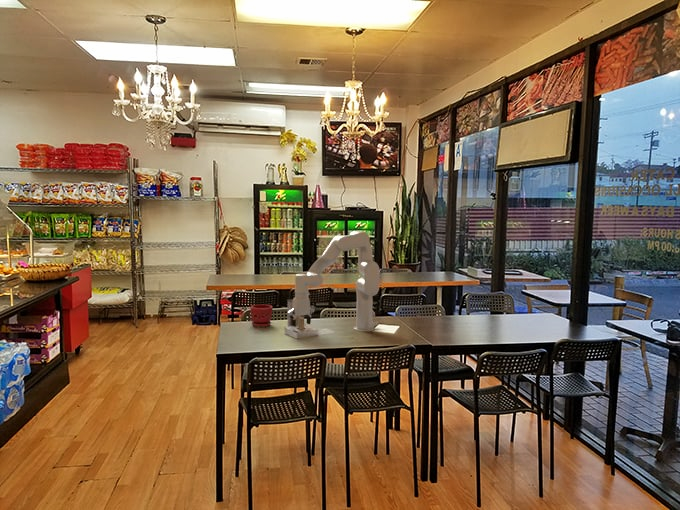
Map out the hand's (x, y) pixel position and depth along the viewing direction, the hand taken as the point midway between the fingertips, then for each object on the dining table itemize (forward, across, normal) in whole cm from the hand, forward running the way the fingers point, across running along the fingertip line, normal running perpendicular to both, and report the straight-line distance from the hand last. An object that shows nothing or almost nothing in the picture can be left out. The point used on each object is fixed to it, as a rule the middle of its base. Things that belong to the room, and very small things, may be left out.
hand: (301, 324), depth 268 cm
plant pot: (+6, +10, -30) cm, 32 cm away
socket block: (+6, 0, 0) cm, 6 cm away
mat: (+6, -14, +3) cm, 15 cm away
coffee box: (+6, -7, -18) cm, 20 cm away
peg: (+6, 0, 0) cm, 6 cm away
